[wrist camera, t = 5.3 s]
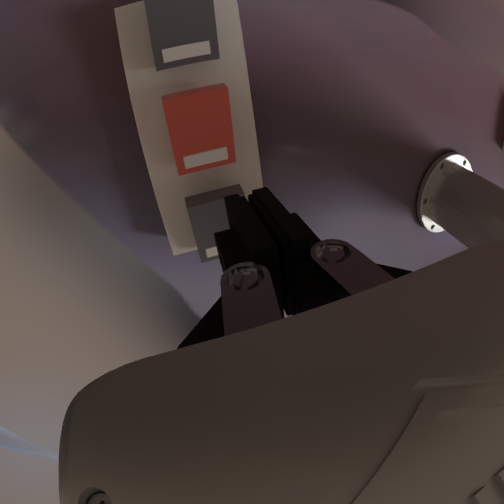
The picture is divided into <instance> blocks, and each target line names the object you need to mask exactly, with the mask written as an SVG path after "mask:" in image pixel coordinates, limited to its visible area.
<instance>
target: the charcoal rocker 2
mask: <svg viewBox="0 0 504 504" xmlns="http://www.w3.org/2000/svg"><path fill="white" fill-rule="evenodd" d="M233 194H239V195H240V197H241V196H245V193H244V191H243V189H242V187H241V186H240V184H237V185H232V186H228V187H224V188H220V189H216V190H212V191H208V192H204V193H200V194H196V195H192V196H189V197H185V198H184V199H185V203H186V207H187V211H188V215H189V219H190V223H191V226H192V230H193V234H194V237H195V241H196V245H197V248H198V252H199V255H200V259H201V262H206V261H209V260H213V259H217V258H219V255H218V251H217V247H216V243H215V238H214V233H216V232H220V231H223V230H227V229H230V227H229V222H228V217H227V212H226V207H225V201H224V197H225V196H229V195H233Z"/></svg>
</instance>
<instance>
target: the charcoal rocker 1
mask: <svg viewBox="0 0 504 504" xmlns="http://www.w3.org/2000/svg"><path fill="white" fill-rule="evenodd" d="M144 3H145V10H146V16H147V22H148V28H149V34H150V40H151V46H152V51H153V57H154V62H155V67H156V72H157V71H161V70H165V69H169V68H173V67H178V66H183V65H187V64H192V63H198V62H203V61H209V60H215V59H220V55H219V46H218V37H217V28H216V19H215V10H214V1H213V0H144Z"/></svg>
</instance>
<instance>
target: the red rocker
mask: <svg viewBox="0 0 504 504" xmlns="http://www.w3.org/2000/svg"><path fill="white" fill-rule="evenodd" d="M161 99H162V104H163V109H164V114H165V118H166V123H167V127H168V132H169V136H170V141H171V145H172V149H173V153H174V158H175V162H176V166H177V170H178V174H179V176H181V175H185V174H189V173H193V172H197V171H201V170H205V169H209V168H213V167H217V166H222V165H226V164H231V163H235V162H236V155H235V145H234V136H233V127H232V118H231V109H230V100H229V90H228V87H227V86H226V85H225V84H224V83H220V84H214V85H209V86H204V87H199V88H194V89H189V90H185V91H180V92H176V93H172V94H168V95H164V96H161Z"/></svg>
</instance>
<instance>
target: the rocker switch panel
mask: <svg viewBox="0 0 504 504" xmlns="http://www.w3.org/2000/svg"><path fill="white" fill-rule="evenodd" d="M213 1H214V10H215V19H216V28H217V37H218V46H219V55H220V59H215V60H209V61H203V62H198V63H192V64H187V65H183V66H178V67H173V68H169V69H165V70H161V71H157V72H156V67H155V62H154V57H153V51H152V46H151V40H150V34H149V28H148V22H147V16H146V10H145V3H144V0H143V1H139V2H135V3H131V4H128V5H124V6H121V7H117V8H114V11H115V18H116V25H117V31H118V37H119V43H120V49H121V54H122V60H123V65H124V70H125V75H126V80H127V85H128V90H129V94H130V99H131V104H132V108H133V112H134V117H135V121H136V125H137V129H138V133H139V137H140V141H141V145H142V149H143V153H144V157H145V161H146V165H147V168H148V172H149V176H150V179H151V183H152V186H153V190H154V193H155V197H156V200H157V204H158V207H159V210H160V214H161V217H162V220H163V223H164V227H165V230H166V233H167V236H168V239H169V242H170V245H171V249H172V252H173V255H174V256H175V255H179V254H183V253H186V252H190V251H194V250H197V249H198V248H197V245H196V241H195V237H194V234H193V230H192V226H191V223H190V219H189V215H188V211H187V207H186V203H185V199H184V198H185V197H189V196H192V195H196V194H200V193H204V192H208V191H212V190H216V189H220V188H224V187H228V186H232V185H237V184H240V186H241V187H242V189H243V191H244V193H245V197H246V199H247V200H248V195H249V194H252V190H255V189H259V188H263V183H262V175H261V167H260V159H259V151H258V144H257V136H256V128H255V121H254V114H253V106H252V99H251V92H250V85H249V78H248V71H247V64H246V57H245V50H244V44H243V37H242V30H241V24H240V17H239V11H238V5H237V0H213ZM220 83H224V84H225V85H226V86H227V87H228V90H229V100H230V109H231V118H232V127H233V136H234V145H235V155H236V162H235V163H231V164H226V165H222V166H217V167H213V168H209V169H205V170H201V171H197V172H193V173H189V174H185V175H181V176H179V174H178V170H177V166H176V162H175V158H174V153H173V149H172V145H171V141H170V136H169V132H168V127H167V123H166V118H165V114H164V109H163V104H162V99H161V96H164V95H168V94H172V93H176V92H180V91H185V90H189V89H194V88H199V87H204V86H209V85H214V84H220Z"/></svg>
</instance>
